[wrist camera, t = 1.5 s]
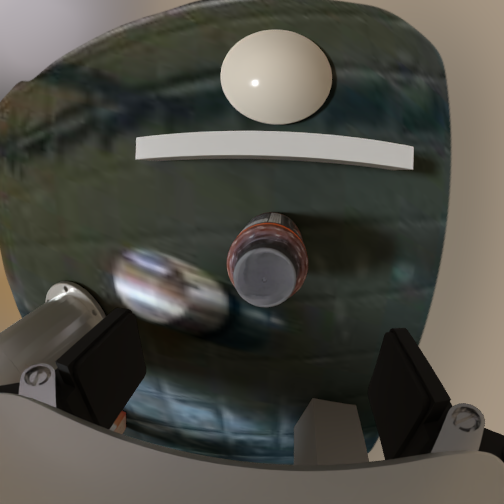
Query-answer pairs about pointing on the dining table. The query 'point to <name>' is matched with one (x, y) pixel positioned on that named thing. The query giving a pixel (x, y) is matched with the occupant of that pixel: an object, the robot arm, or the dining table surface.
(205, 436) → the dining table surface
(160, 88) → the dining table surface
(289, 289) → the supplement bottle
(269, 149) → the low wall
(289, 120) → the resting pad
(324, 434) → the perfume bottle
